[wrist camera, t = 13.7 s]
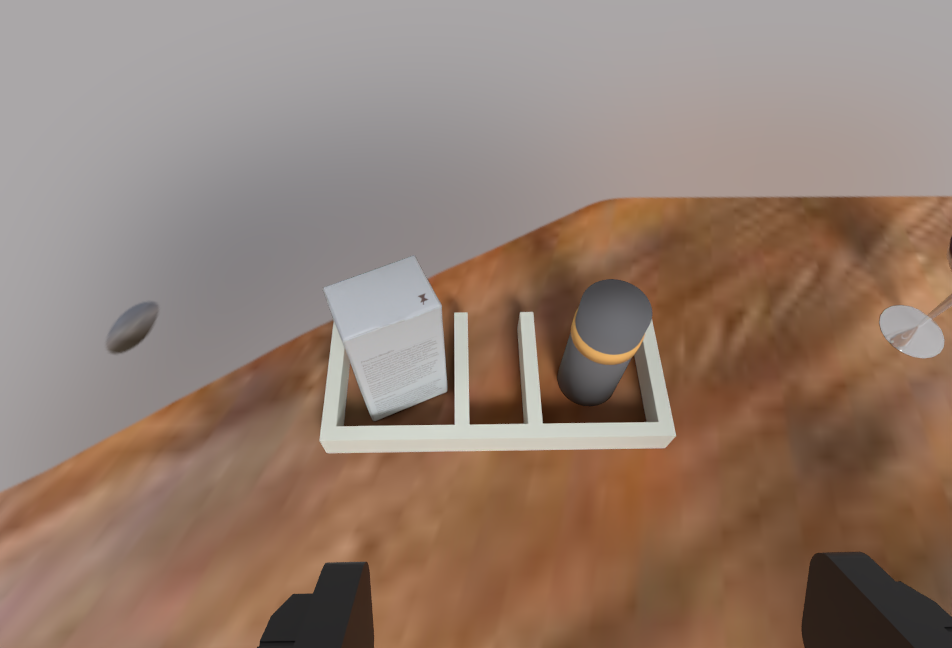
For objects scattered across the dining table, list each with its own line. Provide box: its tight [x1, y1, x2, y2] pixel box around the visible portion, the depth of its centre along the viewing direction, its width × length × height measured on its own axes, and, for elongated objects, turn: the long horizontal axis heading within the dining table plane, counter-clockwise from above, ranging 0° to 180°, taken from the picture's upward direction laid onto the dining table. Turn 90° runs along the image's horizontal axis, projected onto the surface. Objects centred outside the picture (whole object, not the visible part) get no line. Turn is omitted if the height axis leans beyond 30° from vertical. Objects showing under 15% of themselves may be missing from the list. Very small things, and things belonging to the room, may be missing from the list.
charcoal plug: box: [557, 279, 652, 406], centre depth 40 cm, size 5×5×10 cm
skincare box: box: [323, 256, 447, 421], centre depth 39 cm, size 6×4×12 cm
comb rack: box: [320, 312, 676, 453], centre depth 43 cm, size 24×10×2 cm, turn 91°
